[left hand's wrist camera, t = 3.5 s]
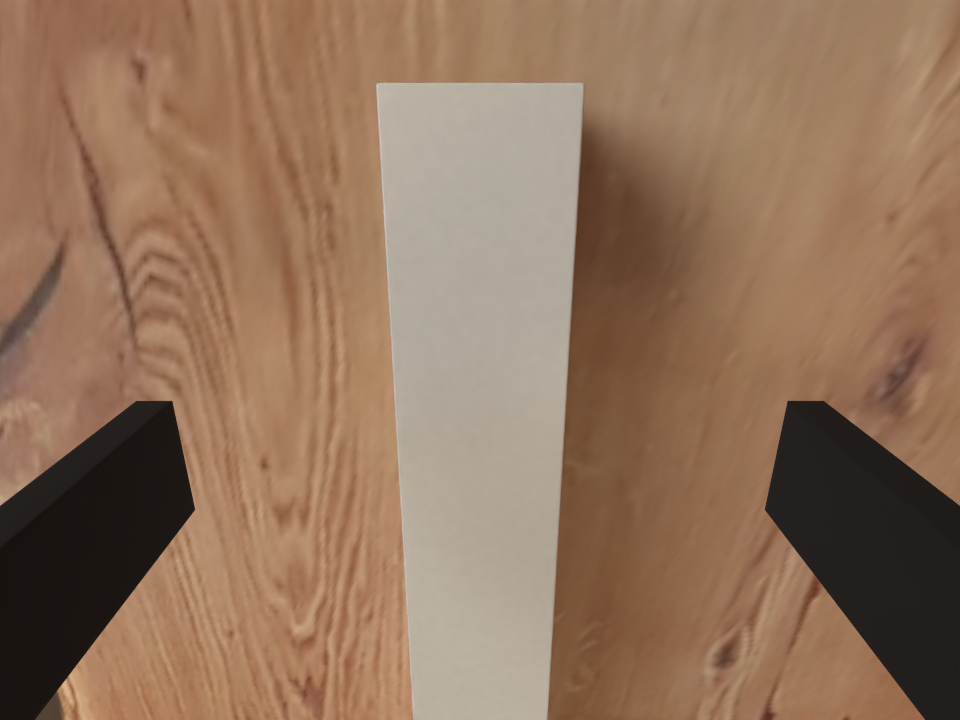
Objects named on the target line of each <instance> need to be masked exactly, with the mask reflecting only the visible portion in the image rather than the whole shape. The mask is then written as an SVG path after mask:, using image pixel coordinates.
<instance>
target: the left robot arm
mask: <svg viewBox="0 0 960 720" xmlns="http://www.w3.org/2000/svg"><path fill="white" fill-rule="evenodd" d="M194 510H195V507H194V502H193V497H192V493H191V488H190V483H189V478H188V474H187V469H186V464H185V459H184V455H183V450H182V445H181V440H180V436H179V431H178V426H177V421H176V417H175V412H174V407H173V402H172V401H136V402H134V403H133V404H132V405H131V406H129V407H128V408H127V409H125V410H124V411H123V412H121V413H120V414H119V415H118V416H116V417H115V418H114V419H112V420H111V421H110V422H109V423H107V424H106V425H105V426H103V427H102V428H101V429H99V430H98V431H97V432H96V433H94V434H93V435H92V436H90V437H89V438H88V439H86V440H85V441H84V442H83V443H81V444H80V445H79V446H77V447H76V448H75V449H73V450H72V451H71V452H70V453H68V454H67V455H66V456H64V457H63V458H62V459H61V460H59V461H58V462H57V463H55V464H54V465H53V466H51V467H50V468H49V469H48V470H46V471H45V472H44V473H42V474H41V475H40V476H38V477H37V478H36V479H35V480H33V481H32V482H31V483H29V484H28V485H27V486H25V487H24V488H23V489H22V490H20V491H19V492H18V493H16V494H15V495H14V496H12V497H11V498H10V499H9V500H7V501H6V502H5V503H3V504H2V505H1V506H0V720H35V719H36V718H37V716H38V715H39V714H40V712H41V711H42V710H43V708H44V707H45V706H46V704H47V703H48V702H49V700H50V699H51V698H52V697H53V695H54V694H55V693H56V691H57V690H58V689H59V687H60V686H61V685H62V683H63V682H64V681H65V680H66V678H67V677H68V676H69V674H70V673H71V672H72V670H73V669H74V668H75V666H76V665H77V664H78V663H79V661H80V660H81V659H82V657H83V656H84V655H85V653H86V652H87V651H88V649H89V648H90V647H91V645H92V644H93V643H94V642H95V640H96V639H97V638H98V636H99V635H100V634H101V632H102V631H103V630H104V628H105V627H106V626H107V625H108V623H109V622H110V621H111V619H112V618H113V617H114V615H115V614H116V613H117V611H118V610H119V609H120V607H121V606H122V605H123V604H124V602H125V601H126V600H127V598H128V597H129V596H130V594H131V593H132V592H133V590H134V589H135V588H136V586H137V585H138V584H139V583H140V581H141V580H142V579H143V577H144V576H145V575H146V573H147V572H148V571H149V569H150V568H151V567H152V566H153V564H154V563H155V562H156V560H157V559H158V558H159V556H160V555H161V554H162V552H163V551H164V550H165V548H166V547H167V546H168V545H169V543H170V542H171V541H172V539H173V538H174V537H175V535H176V534H177V533H178V531H179V530H180V529H181V528H182V526H183V525H184V524H185V522H186V521H187V520H188V518H189V517H190V516H191V514H192V513H193V512H194ZM765 510H766V512H767V513H768V514H769V516H770V517H771V518H772V520H773V521H774V522H775V524H776V525H777V526H778V528H779V529H780V530H781V531H782V533H783V534H784V535H785V537H786V538H787V539H788V541H789V542H790V543H791V545H792V546H793V547H794V548H795V550H796V551H797V552H798V554H799V555H800V556H801V558H802V559H803V560H804V562H805V563H806V564H807V566H808V567H809V568H810V569H811V571H812V572H813V573H814V575H815V576H816V577H817V579H818V580H819V581H820V583H821V584H822V585H823V586H824V588H825V589H826V590H827V592H828V593H829V594H830V596H831V597H832V598H833V600H834V601H835V602H836V604H837V605H838V606H839V607H840V609H841V610H842V611H843V613H844V614H845V615H846V617H847V618H848V619H849V621H850V622H851V623H852V625H853V626H854V627H855V628H856V630H857V631H858V632H859V634H860V635H861V636H862V638H863V639H864V640H865V642H866V643H867V644H868V645H869V647H870V648H871V649H872V651H873V652H874V653H875V655H876V656H877V657H878V659H879V660H880V661H881V663H882V664H883V665H884V666H885V668H886V669H887V670H888V672H889V673H890V674H891V676H892V677H893V678H894V680H895V681H896V682H897V683H898V685H899V686H900V687H901V689H902V690H903V691H904V693H905V694H906V695H907V697H908V698H909V699H910V701H911V702H912V703H913V704H914V706H915V707H916V708H917V710H918V711H919V712H920V714H921V715H922V716H923V718H924V719H925V720H960V506H959V505H958V504H957V503H955V502H954V501H953V500H951V499H950V498H949V497H948V496H946V495H945V494H944V493H942V492H941V491H940V490H938V489H937V488H936V487H935V486H933V485H932V484H931V483H929V482H928V481H927V480H925V479H924V478H923V477H922V476H920V475H919V474H918V473H916V472H915V471H914V470H912V469H911V468H910V467H909V466H907V465H906V464H905V463H903V462H902V461H901V460H899V459H898V458H897V457H896V456H894V455H893V454H892V453H890V452H889V451H888V450H887V449H885V448H884V447H883V446H881V445H880V444H879V443H877V442H876V441H875V440H874V439H872V438H871V437H870V436H868V435H867V434H866V433H864V432H863V431H862V430H861V429H859V428H858V427H857V426H855V425H854V424H853V423H851V422H850V421H849V420H848V419H846V418H845V417H844V416H842V415H841V414H840V413H839V412H837V411H836V410H835V409H833V408H832V407H831V406H829V405H828V404H827V403H826V402H824V401H788V402H787V407H786V412H785V417H784V421H783V426H782V431H781V436H780V440H779V445H778V450H777V455H776V459H775V464H774V469H773V474H772V478H771V483H770V488H769V493H768V497H767V502H766V507H765Z"/></svg>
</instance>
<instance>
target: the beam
mask: <svg viewBox="0 0 960 720" xmlns="http://www.w3.org/2000/svg"><path fill="white" fill-rule="evenodd" d="M376 90H377V107H378V124H379V141H380V158H381V176H382V193H383V210H384V227H385V244H386V261H387V278H388V295H389V312H390V329H391V346H392V363H393V381H394V398H395V415H396V432H397V449H398V466H399V483H400V500H401V517H402V534H403V551H404V568H405V586H406V603H407V620H408V637H409V654H410V671H411V688H412V705H413V720H548V706H549V689H550V672H551V655H552V638H553V621H554V604H555V587H556V570H557V553H558V536H559V519H560V502H561V485H562V468H563V451H564V434H565V417H566V400H567V383H568V366H569V349H570V332H571V315H572V298H573V281H574V264H575V247H576V230H577V213H578V196H579V179H580V162H581V145H582V128H583V111H584V94H585V84H584V83H377V85H376Z"/></svg>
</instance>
